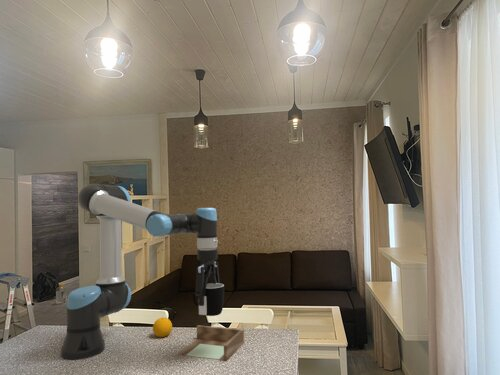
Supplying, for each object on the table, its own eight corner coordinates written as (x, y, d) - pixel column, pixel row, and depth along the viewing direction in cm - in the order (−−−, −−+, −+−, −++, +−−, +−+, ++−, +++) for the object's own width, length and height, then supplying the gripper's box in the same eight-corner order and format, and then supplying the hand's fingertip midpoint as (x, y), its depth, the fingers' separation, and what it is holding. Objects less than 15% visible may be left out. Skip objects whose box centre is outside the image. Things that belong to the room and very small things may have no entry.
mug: (227, 310, 131) (227, 283, 131) (220, 317, 122) (219, 288, 123) (198, 309, 133) (197, 282, 134) (188, 316, 125) (188, 287, 125)
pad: (185, 355, 124) (185, 354, 124) (200, 344, 134) (200, 343, 134) (219, 359, 119) (219, 359, 120) (231, 347, 130) (231, 347, 130)
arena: (176, 357, 125) (175, 340, 125) (198, 340, 141) (198, 325, 141) (227, 363, 118) (226, 345, 119) (244, 345, 134) (244, 329, 135)
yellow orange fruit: (168, 331, 153) (168, 313, 154) (175, 336, 147) (174, 318, 147) (150, 335, 149) (150, 317, 149) (156, 340, 142) (156, 321, 143)
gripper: (203, 252, 118) (204, 320, 116) (227, 246, 138) (229, 303, 137) (184, 252, 121) (184, 318, 119) (210, 246, 141) (212, 302, 139)
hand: (208, 310), depth 128 cm, fingers closed on mug, 9 cm apart
